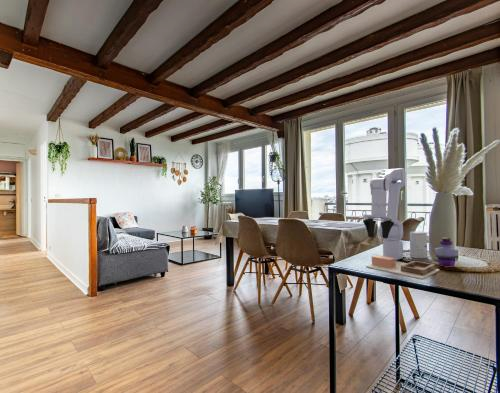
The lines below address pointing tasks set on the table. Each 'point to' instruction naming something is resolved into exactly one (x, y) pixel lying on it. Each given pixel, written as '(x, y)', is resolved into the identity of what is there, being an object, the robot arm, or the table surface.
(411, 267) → the tray
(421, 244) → the skincare box
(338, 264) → the table surface
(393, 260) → the salmon orange block
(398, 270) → the mat
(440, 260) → the potion bottle
